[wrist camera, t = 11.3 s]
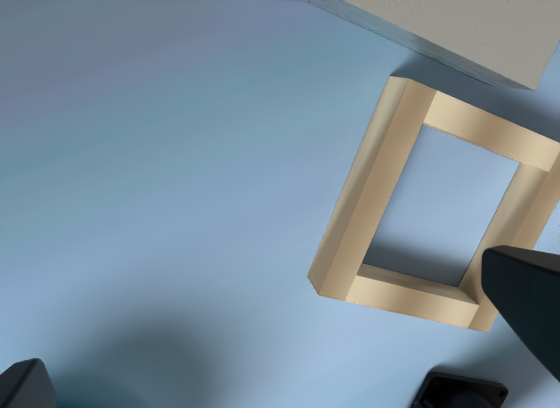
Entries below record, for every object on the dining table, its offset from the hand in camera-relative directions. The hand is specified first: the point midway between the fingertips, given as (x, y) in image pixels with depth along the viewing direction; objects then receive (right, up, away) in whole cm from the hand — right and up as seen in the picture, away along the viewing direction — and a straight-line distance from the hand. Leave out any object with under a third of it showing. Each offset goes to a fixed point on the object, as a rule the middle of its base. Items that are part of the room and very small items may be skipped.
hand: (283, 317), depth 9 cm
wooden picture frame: (+8, +2, +16) cm, 18 cm away
